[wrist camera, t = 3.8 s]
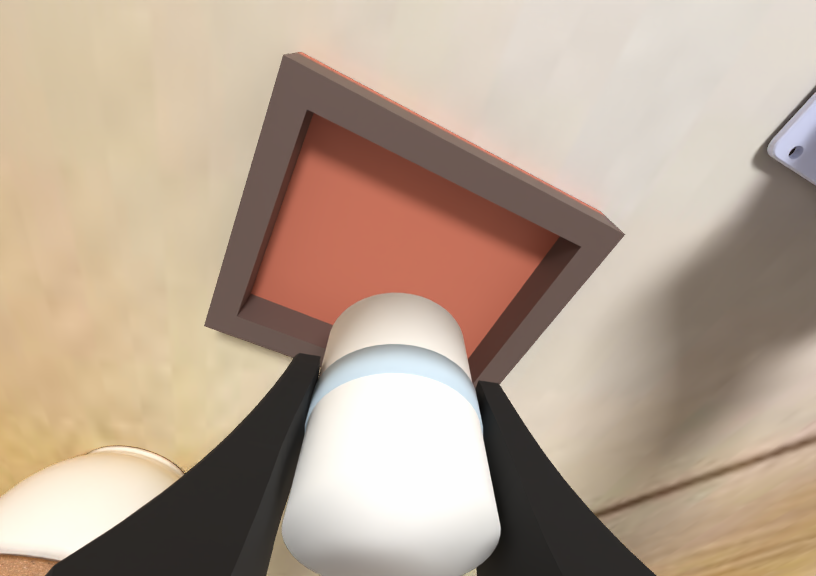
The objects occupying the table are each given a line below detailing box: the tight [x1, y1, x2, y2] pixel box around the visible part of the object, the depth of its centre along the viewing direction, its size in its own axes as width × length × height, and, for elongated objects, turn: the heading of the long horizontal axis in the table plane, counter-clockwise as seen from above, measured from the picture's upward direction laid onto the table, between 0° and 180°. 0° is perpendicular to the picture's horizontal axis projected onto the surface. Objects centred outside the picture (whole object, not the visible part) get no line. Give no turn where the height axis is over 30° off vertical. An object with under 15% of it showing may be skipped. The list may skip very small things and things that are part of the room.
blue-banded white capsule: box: [282, 293, 501, 576], centre depth 11 cm, size 5×5×6 cm
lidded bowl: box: [0, 446, 184, 576], centre depth 24 cm, size 13×13×11 cm
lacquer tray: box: [204, 52, 625, 388], centre depth 19 cm, size 14×12×2 cm
